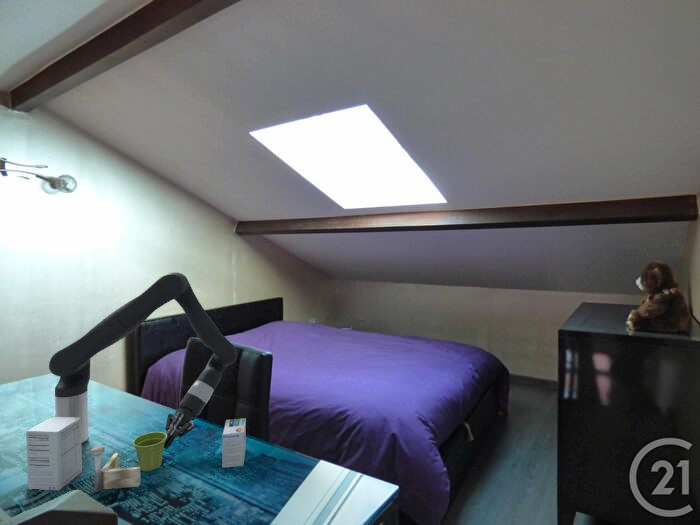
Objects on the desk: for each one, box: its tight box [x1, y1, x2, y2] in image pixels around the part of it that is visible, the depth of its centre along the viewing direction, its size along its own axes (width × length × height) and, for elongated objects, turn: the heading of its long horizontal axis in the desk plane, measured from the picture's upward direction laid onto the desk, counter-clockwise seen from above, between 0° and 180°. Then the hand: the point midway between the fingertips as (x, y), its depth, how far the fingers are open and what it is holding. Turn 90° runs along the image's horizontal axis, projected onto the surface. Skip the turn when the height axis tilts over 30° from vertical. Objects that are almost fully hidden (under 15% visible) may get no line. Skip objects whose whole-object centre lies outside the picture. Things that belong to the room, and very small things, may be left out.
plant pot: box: [132, 431, 167, 472], centre depth 121 cm, size 9×9×9 cm
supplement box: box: [25, 416, 83, 491], centre depth 113 cm, size 10×9×17 cm
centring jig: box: [90, 445, 141, 493], centre depth 111 cm, size 14×10×12 cm
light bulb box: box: [221, 417, 247, 468], centre depth 126 cm, size 11×7×11 cm, turn 12°
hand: (163, 447), depth 124 cm, fingers closed
